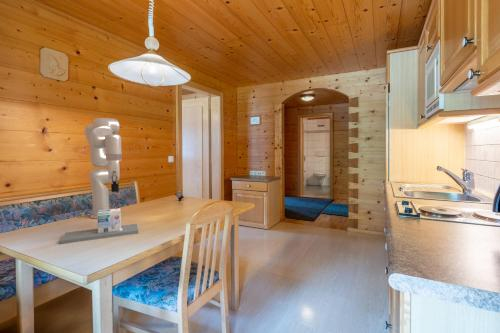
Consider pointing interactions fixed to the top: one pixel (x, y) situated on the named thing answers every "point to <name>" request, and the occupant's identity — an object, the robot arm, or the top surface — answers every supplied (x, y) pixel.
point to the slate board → (97, 234)
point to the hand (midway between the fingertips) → (115, 190)
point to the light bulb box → (109, 220)
